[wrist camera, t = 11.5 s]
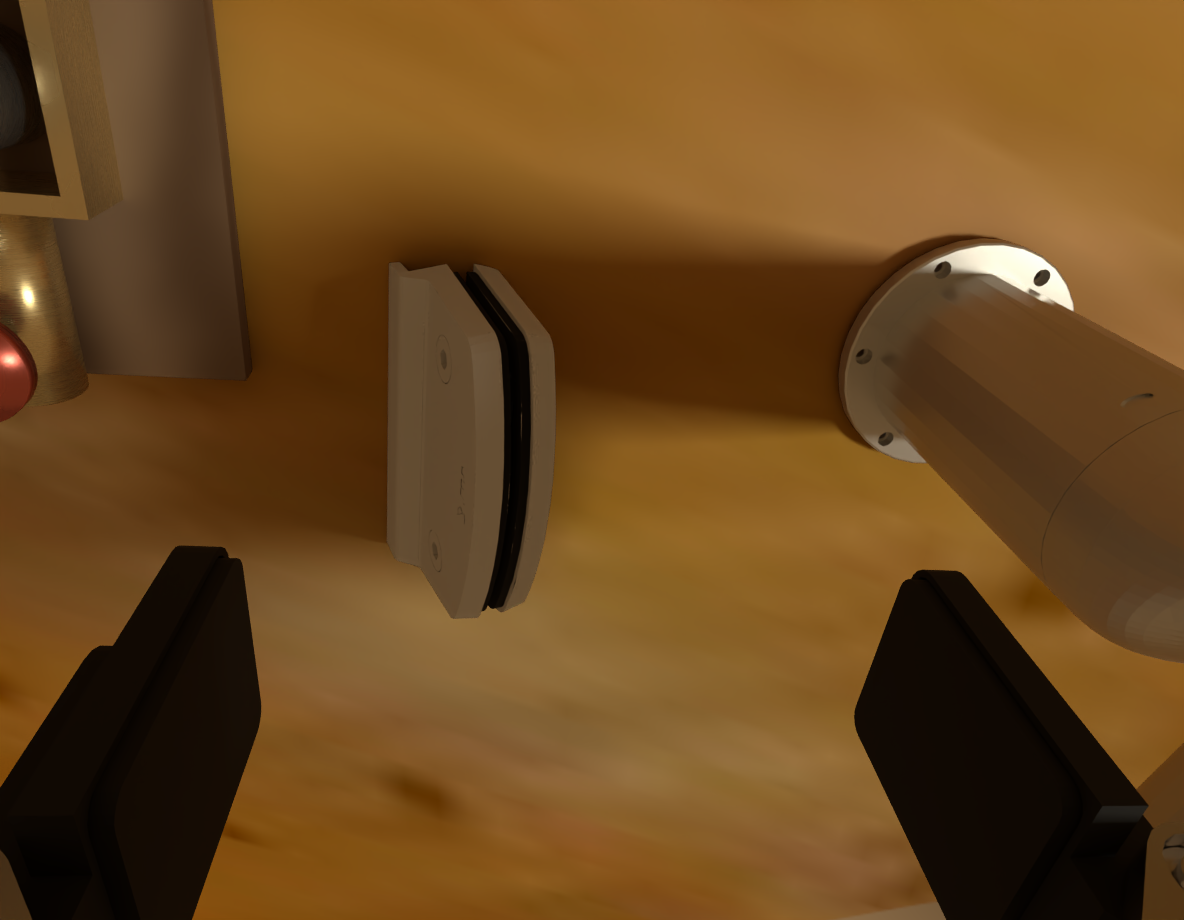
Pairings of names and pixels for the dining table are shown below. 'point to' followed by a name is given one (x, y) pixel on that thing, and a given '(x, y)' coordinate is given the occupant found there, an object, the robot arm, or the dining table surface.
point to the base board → (155, 202)
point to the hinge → (468, 435)
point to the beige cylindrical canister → (18, 92)
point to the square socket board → (52, 209)
